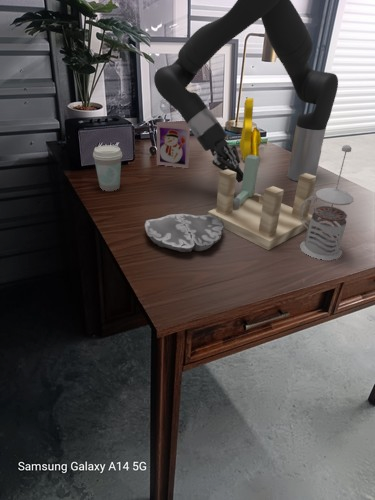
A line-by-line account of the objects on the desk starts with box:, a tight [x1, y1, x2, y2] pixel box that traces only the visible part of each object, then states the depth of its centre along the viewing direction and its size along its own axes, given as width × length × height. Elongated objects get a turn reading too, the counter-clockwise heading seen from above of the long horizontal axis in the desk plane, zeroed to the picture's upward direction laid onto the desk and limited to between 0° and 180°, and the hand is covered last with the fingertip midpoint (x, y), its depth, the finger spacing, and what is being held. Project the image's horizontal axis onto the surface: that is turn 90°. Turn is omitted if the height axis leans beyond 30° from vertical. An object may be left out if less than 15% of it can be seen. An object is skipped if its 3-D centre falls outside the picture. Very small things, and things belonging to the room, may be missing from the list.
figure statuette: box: [239, 97, 262, 162], centre depth 141 cm, size 18×8×22 cm, turn 174°
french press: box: [299, 144, 355, 261], centre depth 86 cm, size 10×12×25 cm
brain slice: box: [144, 213, 225, 253], centre depth 93 cm, size 20×17×3 cm
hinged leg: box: [233, 155, 260, 209], centre depth 105 cm, size 13×3×11 cm, turn 151°
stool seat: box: [207, 169, 317, 251], centre depth 100 cm, size 20×20×14 cm
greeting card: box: [156, 120, 191, 169], centre depth 135 cm, size 11×7×15 cm, turn 77°
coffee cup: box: [92, 145, 123, 192], centre depth 116 cm, size 8×8×12 cm
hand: (242, 180), depth 111 cm, fingers closed
